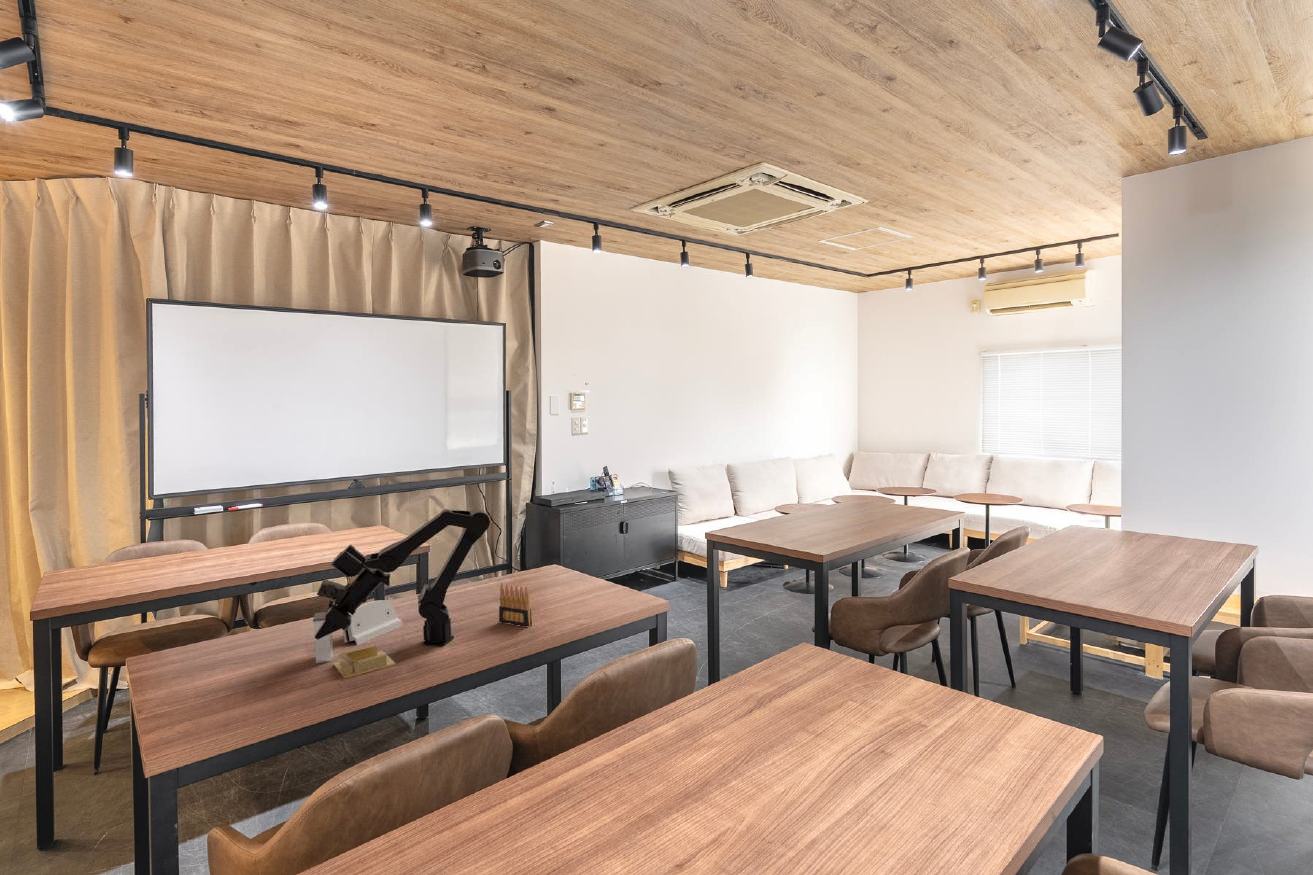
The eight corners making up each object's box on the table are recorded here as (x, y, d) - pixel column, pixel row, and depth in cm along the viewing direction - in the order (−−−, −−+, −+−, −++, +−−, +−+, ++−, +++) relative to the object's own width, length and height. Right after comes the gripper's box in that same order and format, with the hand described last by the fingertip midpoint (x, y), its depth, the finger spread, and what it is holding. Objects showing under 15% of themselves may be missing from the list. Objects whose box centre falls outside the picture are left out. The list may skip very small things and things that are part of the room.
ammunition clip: (532, 625, 191) (530, 585, 190) (528, 627, 189) (527, 587, 188) (502, 620, 195) (501, 581, 194) (498, 622, 193) (497, 583, 192)
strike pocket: (382, 652, 172) (382, 641, 172) (395, 664, 164) (394, 653, 164) (333, 664, 165) (333, 654, 165) (344, 678, 157) (344, 667, 156)
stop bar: (333, 653, 172) (331, 611, 171) (331, 661, 167) (329, 617, 166) (317, 655, 171) (315, 613, 170) (315, 663, 166) (312, 619, 165)
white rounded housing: (356, 645, 177) (346, 610, 178) (345, 648, 179) (335, 613, 180) (404, 625, 193) (394, 593, 193) (393, 628, 195) (383, 596, 195)
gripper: (339, 560, 177) (296, 605, 174) (333, 578, 160) (285, 628, 157) (372, 585, 181) (330, 629, 177) (369, 605, 163) (323, 654, 160)
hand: (317, 634), depth 168 cm, fingers closed on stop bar, 5 cm apart
